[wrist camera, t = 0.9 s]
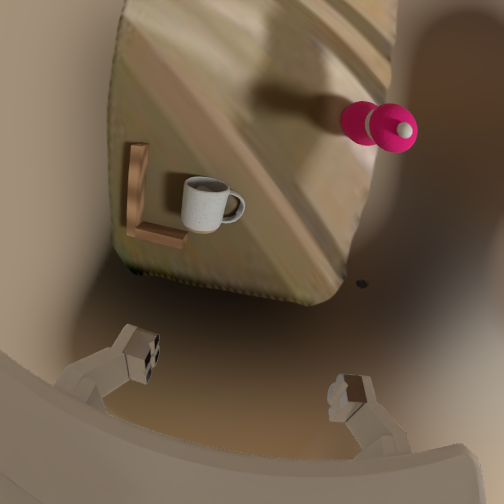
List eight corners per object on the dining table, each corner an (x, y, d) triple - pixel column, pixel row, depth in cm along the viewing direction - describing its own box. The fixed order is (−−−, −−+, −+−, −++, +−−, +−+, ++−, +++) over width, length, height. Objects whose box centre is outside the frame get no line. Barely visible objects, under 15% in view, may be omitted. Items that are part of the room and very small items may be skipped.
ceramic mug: (186, 214, 51) (173, 231, 45) (192, 173, 47) (178, 184, 41) (240, 226, 52) (235, 245, 45) (249, 185, 48) (245, 198, 41)
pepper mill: (333, 135, 42) (369, 151, 24) (342, 96, 38) (385, 86, 21) (371, 147, 42) (425, 173, 24) (380, 110, 38) (441, 113, 21)
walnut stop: (140, 142, 45) (131, 145, 42) (200, 151, 45) (194, 154, 42) (134, 227, 54) (126, 235, 51) (187, 240, 54) (181, 249, 51)
